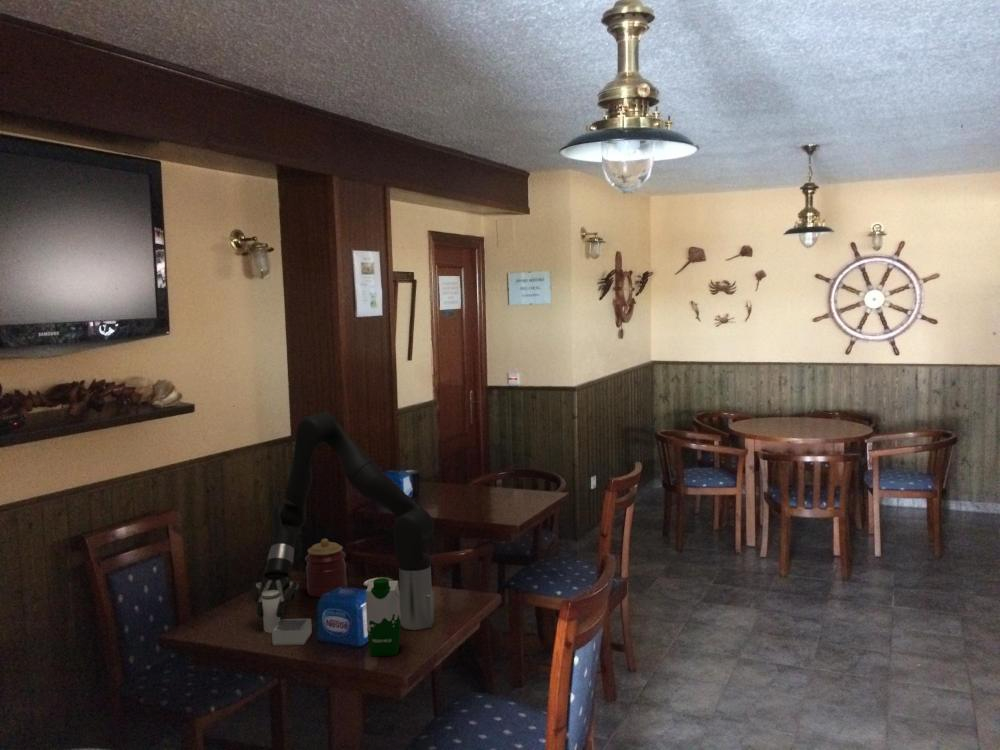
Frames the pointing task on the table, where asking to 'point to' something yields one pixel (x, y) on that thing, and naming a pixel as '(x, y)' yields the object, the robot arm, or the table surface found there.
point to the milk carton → (383, 617)
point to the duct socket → (291, 632)
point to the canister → (325, 568)
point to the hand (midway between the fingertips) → (269, 616)
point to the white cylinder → (270, 609)
